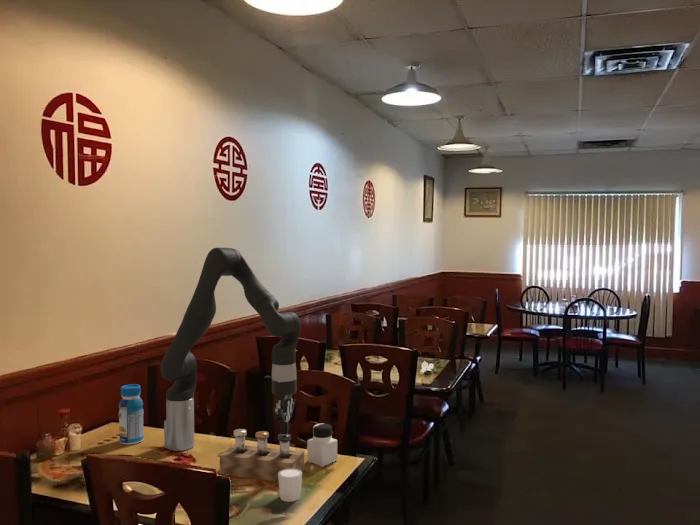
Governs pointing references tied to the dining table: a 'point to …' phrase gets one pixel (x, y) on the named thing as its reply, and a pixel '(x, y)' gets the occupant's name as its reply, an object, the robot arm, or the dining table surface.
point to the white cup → (290, 484)
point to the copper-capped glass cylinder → (262, 443)
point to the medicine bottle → (322, 446)
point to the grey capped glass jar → (284, 445)
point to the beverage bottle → (131, 415)
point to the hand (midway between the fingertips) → (284, 433)
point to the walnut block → (259, 463)
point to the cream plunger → (240, 440)
